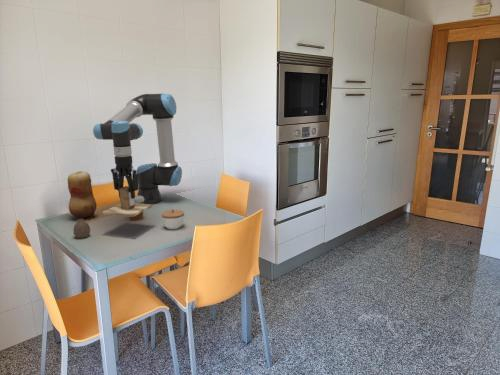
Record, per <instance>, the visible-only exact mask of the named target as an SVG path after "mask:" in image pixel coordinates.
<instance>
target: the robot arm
mask: <svg viewBox="0 0 500 375" xmlns="http://www.w3.org/2000/svg"><path fill="white" fill-rule="evenodd" d="M176 114H177V103H176V100H175V98H174V96H173V95H172V94H170V93H144V94H140V95H137V96H136V97H133V98H132V99H130V100H129V101H128V102H127V103H126V105H125V106H124V108H122V109H121V110H120V111H118V112H116V114H114V115H113V116H112V117H110V118H109V119H108V120H107V121H106V122H103V123H96V124H95V125H94V126H93V129H92V132H93V136H94V137H95V138H96V139H97V140H105V141H106V140H107V141H112V143H113V146H112V147H113V153H114V154H113V155H114V164H115V168H111V169H110V172H111V175H112V181H113V188H114V191H116V190H117V191H118V198H119V199H120V192H119V189H120V188H122V187H124V184H125V183H124V182H125V179H126V183H127V186H129V190H130V191H129V203H130V206H132V205H134V204H135V203H134V198H135V196H136V191H138V192H137V195H138V196H143V197H144V199H145V200H144V204H150V205H154V204H155V205H156V204H158V203H160V202H161V203H162V201H163V198H162V195H161V192H160V190H159V186H166V187H167V186H168V187H172V186H173V187H174V186H175V187H176V186H178V185H179V184H180V183H181V180H182V176H183V169H182V167H181V166H179V164H178V162H177V161H176V159H175V150H174V149H175V148H174V137H173V128H172V127H173V126H172V120H173V119H174V116H175V115H176ZM141 116H152V120H153V121H155V124H156V137H157V146H158V154H159V162H158V164H157V163H153V162H151V163H146V164H141V165H139V166H138V167H137V168H136V169H135V168H134V166H133V156H132V152H133V151H132V145H131V141H134V140H138V139H140V138H142V136H143V133H144V129H143V127H142V126H141V124H138V123H135V122H133V123H131V122H132V121H134V120H135V119H136V118H140V117H141Z"/></svg>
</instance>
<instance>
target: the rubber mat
mask: <svg viewBox="0 0 500 375" xmlns="http://www.w3.org/2000/svg"><path fill="white" fill-rule="evenodd" d="M155 227H157V226H156V225H152V224H151V225H150V224H142V223H141V224H139V223H132V222H124V223H122V224H120V225H118V226H117V227H114V228H113V229H110V230H109V231H107V232H105V233H103V234H102V236H103V237H104V236H106V237H113V238H122V239H130V240H136V239H138V238H140V237H142V236H143V235H144V234H147V232H149V231H151V230H153V229H154V228H155Z"/></svg>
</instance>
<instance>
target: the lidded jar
mask: <svg viewBox="0 0 500 375" xmlns="http://www.w3.org/2000/svg"><path fill="white" fill-rule="evenodd" d="M161 219H162V223H163V226H164V227H165V228H167V229H168V230H177V229H180V228H181V227H182V226H183V225H184V222H185V212H184V211H183V210H181V209H174V208H173V209H169V210H168V209H167V210H165V211H163V212H161Z"/></svg>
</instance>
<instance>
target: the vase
mask: <svg viewBox="0 0 500 375" xmlns="http://www.w3.org/2000/svg"><path fill="white" fill-rule="evenodd" d="M72 230H73V235H74V236H75V238H76V239H81V240H82V239H86V238H88V237H89V236H90V234H91V227H90V225H89V223H88V222H87V221H86V220H85V218H78V219H77V220H76V222H75V224H74V226H73V229H72Z"/></svg>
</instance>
